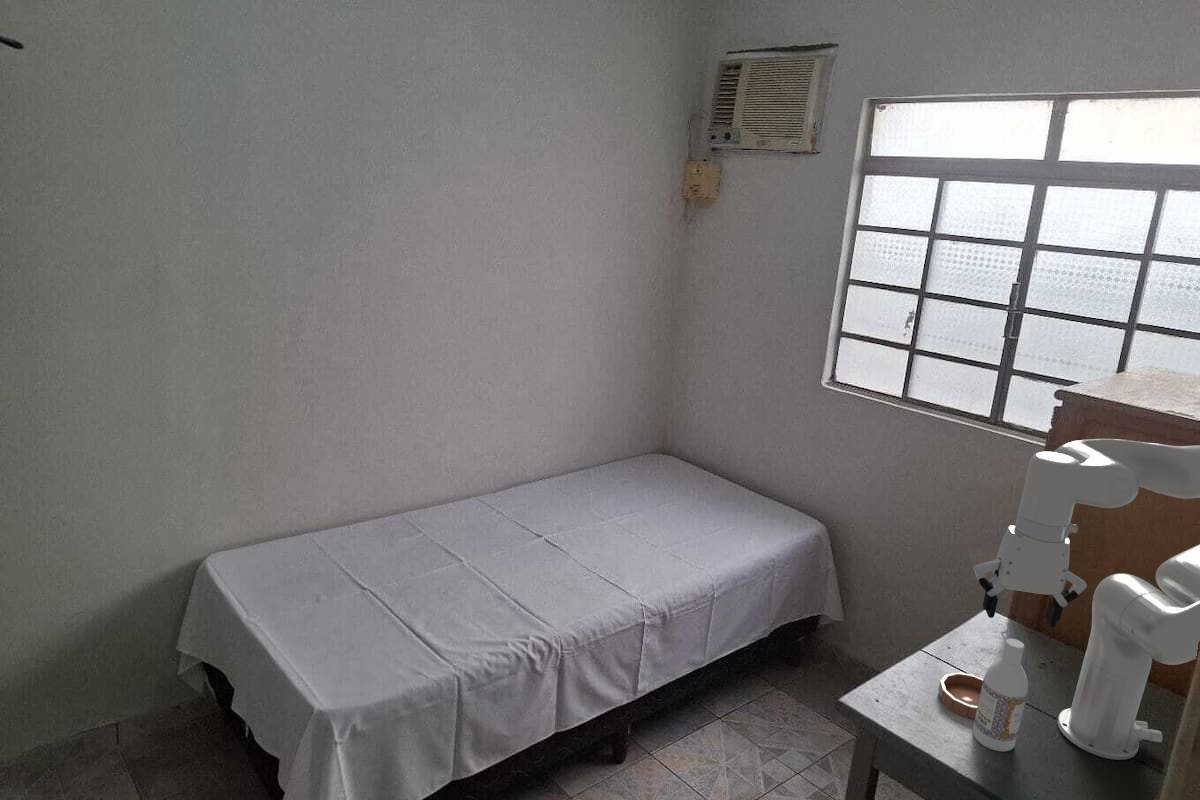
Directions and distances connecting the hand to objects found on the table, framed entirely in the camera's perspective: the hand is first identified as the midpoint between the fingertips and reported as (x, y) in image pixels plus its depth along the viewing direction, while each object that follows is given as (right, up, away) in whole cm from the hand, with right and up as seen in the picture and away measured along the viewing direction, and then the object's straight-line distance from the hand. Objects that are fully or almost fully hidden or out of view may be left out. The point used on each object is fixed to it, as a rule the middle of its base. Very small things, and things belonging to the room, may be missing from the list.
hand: (1019, 618), depth 135 cm
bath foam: (-1, -24, +7) cm, 25 cm away
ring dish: (-1, -21, +17) cm, 27 cm away
